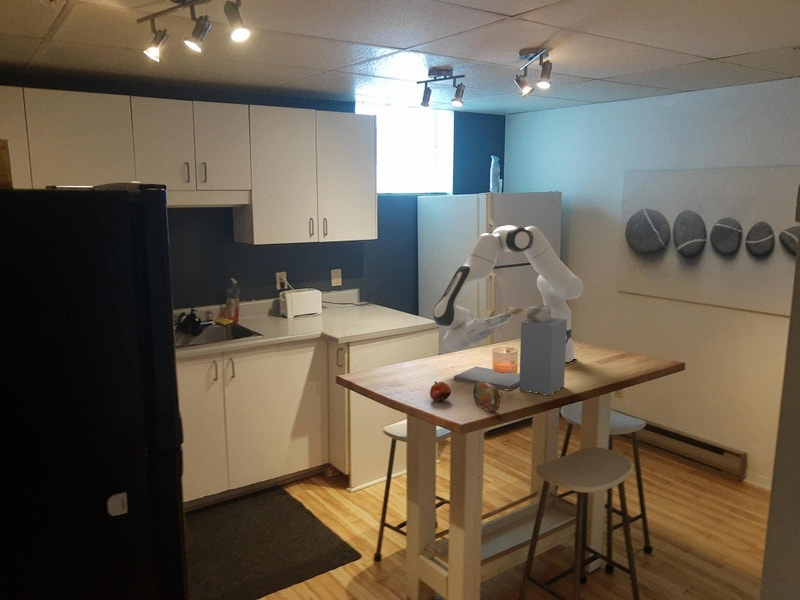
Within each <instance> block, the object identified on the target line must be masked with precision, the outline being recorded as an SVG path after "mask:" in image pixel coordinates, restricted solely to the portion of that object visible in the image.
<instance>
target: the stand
mask: <svg viewBox="0 0 800 600" xmlns="http://www.w3.org/2000/svg"><path fill="white" fill-rule="evenodd" d="M566 327H567V319H558V318H551V319H550V320H548V321H546V322H543V323H540V322H532V321H527V319H526V320H522V321H521V322H520V347H519V348H520V352H519V353H520V354H519V374H520V381H519V385H518V390H524V391H523V392H525V391H531V392H537V393H541V394H546V395H551V394H552V393H554V392H555V391H557V390H558V389H560V388H561V387H563V386H564V387H565V371H566V363H565V351H566ZM564 387H563V388H564ZM561 389H562V388H561ZM561 389H560V390H561ZM558 391H559V390H558ZM558 391H557V392H558ZM541 394H540V395H541ZM554 394H555V393H554ZM546 395H545V396H546ZM551 396H552V395H551Z"/></svg>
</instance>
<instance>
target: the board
mask: <svg viewBox="0 0 800 600" xmlns="http://www.w3.org/2000/svg"><path fill="white" fill-rule="evenodd" d="M453 380H454V381H457V382H463V383H468V384H474V385H475V383H476V382H478V381H480V382H487V383H489V384H490V385H492V386H494V387H496V388H497V389H499V388H500V389H501V390H504V389H508V390H507V391H511V390H513V389H514V388H513V387H515V386H516V387H518V386H519V381H520V373H517V372H512V373H499V372H495V371H493V369H492V368H487V367H481V366H473V367H471V368H469V369H467V370H465V371H463V372H459V374H456V375H453ZM517 385H518V386H517ZM516 387H515V388H516ZM512 388H513V389H512ZM510 389H511V390H510Z"/></svg>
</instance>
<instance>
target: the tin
mask: <svg viewBox="0 0 800 600" xmlns="http://www.w3.org/2000/svg"><path fill="white" fill-rule="evenodd" d="M472 392H473V400H474V402H475V404H476V405H477V404H478V405H477V406H479V405H480V406H482V407H484V408H486V409H488V410H489V411H490V412H497V411H498V410H499V409H500V406H501V393H500V390H499V388H496V387H494V386H492V385H490V384H489V383H487V382H480V381H478V382H476V383H475V384H474V385H473V391H472ZM480 406H479V407H480ZM482 407H481V408H482ZM484 408H483V409H484ZM489 411H488V412H489Z"/></svg>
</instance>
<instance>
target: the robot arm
mask: <svg viewBox="0 0 800 600" xmlns="http://www.w3.org/2000/svg"><path fill="white" fill-rule="evenodd" d="M503 252H505V253H517V254H518V253H524V255H525V257H526V259H527V260H528V261H529V264H530V265H531V267H532V268H533V269H534V271H535V272H536V273H537V274H539V275H538V276H537V278H536V287H537V289H538V291H539V293H540V294H541V298H542V301H543V305H545V306H551V318H558V319H567V327H566V351H565V362H570V361H572V360H573V359H575V358H577V359H578V357H577V356H576V355H575V342H574V339H572V335H573V333H572V332H573V331H572V326H571V325H572V311H571V308H570V307H569V306H568V302H567V300H576V299H578V298H579V297H580V296H582V294H583V292H584V288H585V286H584V282H583V280H582V279H581V278H580V277H578V276H577V275H576V274H574V273H573V272H572V270H571V269H570V268H568V267H567V265H566V264H565V263H564V262H563V261H562V260H561V259H560V257H559V256H558V255H557V253H556V252H555V249H554V248H553V247H552V245H551V244H550V242H549V241H548V239H547V237H546V236H545V234H544V233H542V231H541V230H540V229H539V228H538V227H537V226H535V225H528V226H526V227H523V226H519V225H512V224H511V225H508V224H507V225H498V226H496V227H494V228H492V230H490V232H489V233H488V232H486V233H482V234H480V236H479V237H477V240H476V241H475V243H474V244H473V247H472V249H471V251H470V253H469V256H468V258H467V260H466V261H465V263H464V264H463V265H461V266H460V267H458V268H457V270H456V271H455V272H454V274H453V276H452V278H451V280H450V281H449V283H448V285H447V287H446V289H445V290H444V292H443V294H442V295H441V298H440V299H439V300H438V301H437V303H436V304H435V305H434V307H433V311H432V317H433V321H434V323H436V325H438V326H442V327H447V330H446V333H445V335H444V337H443V338H442V341H443V345H444V346H445V348H446V349H447V350H449V351H451V352H453V353H456V352H461V351H463V350H466V349H467V348H470V347H471V346H472V345H474V344H478V343H479V342H481V341H484V340H485V339H488V337H489V336H490V335H492V334H493V333H494V332H495V331H496V330H497V329H499V328H500V327H502V326H503V325H505V324H506V323H507V322H509V318H511V317H513V316H514V314H508V313H506V312H504V313H500V314H497V315H495V316H491V317H485V318H479V317H476V318H474V317H473V314H472V312H471V311H470V310H469V309H467V308H465V307H462V306H460V305H458V304H456V303H457V300H458V298H459V297H460V295H461V293H462V291H463V289H464V288H465V286H466V285H467V284H469V283H472V282H473V283H474V282H481V281H483V280H486V279H488V278H489V277H490V276H491V275H492V273H493V270H494V269H495V268H494V267H495V265H496V262H497V260H498V257H499V255H500V254H501V253H503ZM570 363H571V362H570Z"/></svg>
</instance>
